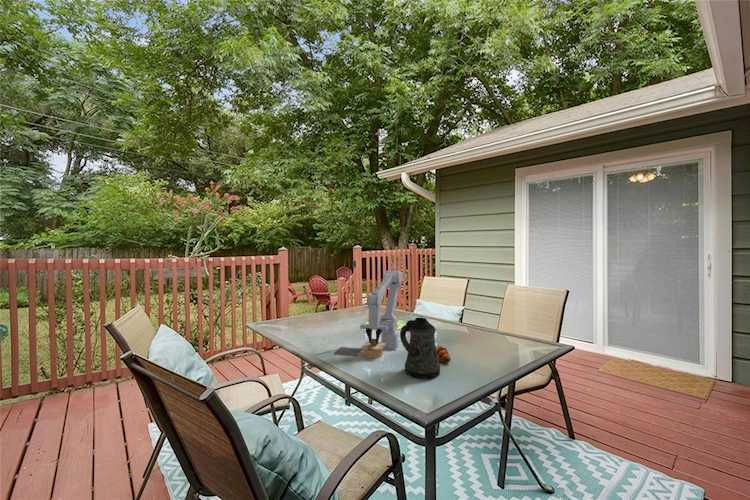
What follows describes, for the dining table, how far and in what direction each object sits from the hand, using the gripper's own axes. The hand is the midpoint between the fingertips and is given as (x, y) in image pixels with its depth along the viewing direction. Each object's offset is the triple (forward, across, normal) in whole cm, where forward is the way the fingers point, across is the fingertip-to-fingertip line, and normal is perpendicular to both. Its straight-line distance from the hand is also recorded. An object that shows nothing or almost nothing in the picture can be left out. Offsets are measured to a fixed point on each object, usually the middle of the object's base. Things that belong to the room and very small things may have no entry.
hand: (373, 343), depth 180 cm
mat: (+7, -15, +2) cm, 17 cm away
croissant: (+7, +33, +7) cm, 35 cm away
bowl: (+7, 0, 0) cm, 7 cm away
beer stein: (+7, +26, -16) cm, 31 cm away
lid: (+2, 0, 0) cm, 2 cm away
